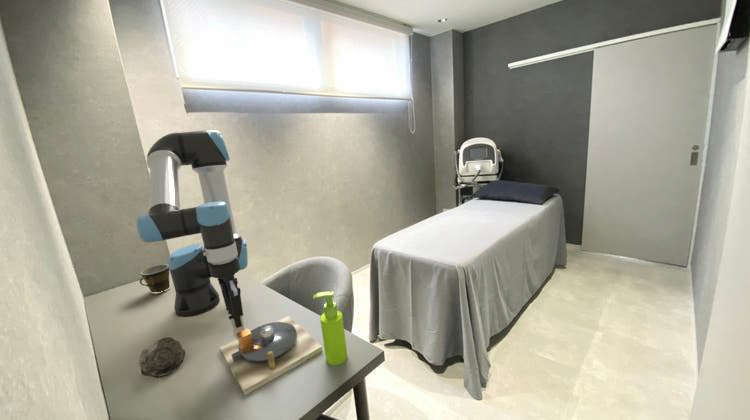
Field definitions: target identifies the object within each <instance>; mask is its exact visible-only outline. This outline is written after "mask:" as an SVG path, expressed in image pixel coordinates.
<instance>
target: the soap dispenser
mask: <svg viewBox="0 0 750 420" xmlns="http://www.w3.org/2000/svg"><path fill="white" fill-rule="evenodd" d="M334 297H335V292H334V291H321V292H317V293H315V294H313V297H312V299H313V300H317V299H322V298H325V303H324V304H323V313H322V314H321V315H320V317H319V320H320V325H321V327H320V328H321V333H322V341H323V347H324V354H325V361H326V363H328V365H331V366H339V365H341V364H343V363H345V362H346V361H347V358H348V351H347V343H346V341H347V340H346V334H345V326H344V325H345V324H344V317H343V313H342V312H341V311H340V310H338V307H337V302H335V301H334V300H333V298H334Z"/></svg>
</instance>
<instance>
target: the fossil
mask: <svg viewBox="0 0 750 420" xmlns="http://www.w3.org/2000/svg"><path fill="white" fill-rule="evenodd" d="M185 358H186V349H184V348H183V346H182V343H181V342H180V341H179V340H178V339H176V338H174V337H171V336H163V337H160V338H157V339H156V340H154V341H153V342H151V343H150V344H149V345H147V346H145V347H144V348H143V350H142V351H141V352H140V355H139V363H138V365H139V367H140V373H141V375H144V376H145V377H152V378H155V379H159V378H164V377H168V376H169V375H172V374H173V373H175V372H176V371H177V370H178V369H179V368H180V366H182V364H183V363H184V360H185Z"/></svg>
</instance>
